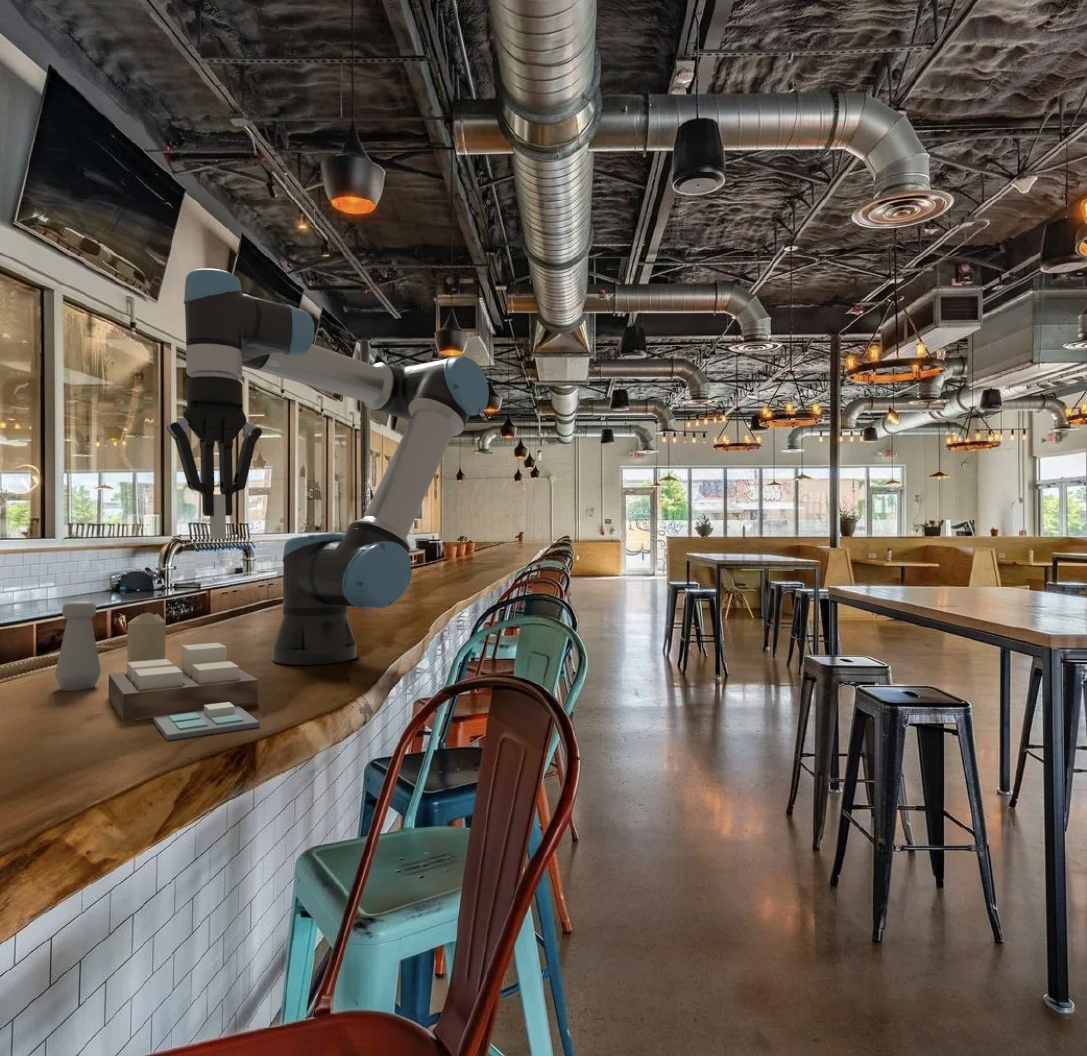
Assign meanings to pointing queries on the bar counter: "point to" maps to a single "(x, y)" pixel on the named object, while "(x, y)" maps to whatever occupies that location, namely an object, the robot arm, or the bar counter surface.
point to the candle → (146, 638)
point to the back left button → (202, 655)
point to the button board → (178, 696)
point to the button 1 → (145, 666)
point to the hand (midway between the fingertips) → (218, 538)
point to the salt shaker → (78, 648)
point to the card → (205, 721)
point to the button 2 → (157, 677)
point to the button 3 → (215, 672)
